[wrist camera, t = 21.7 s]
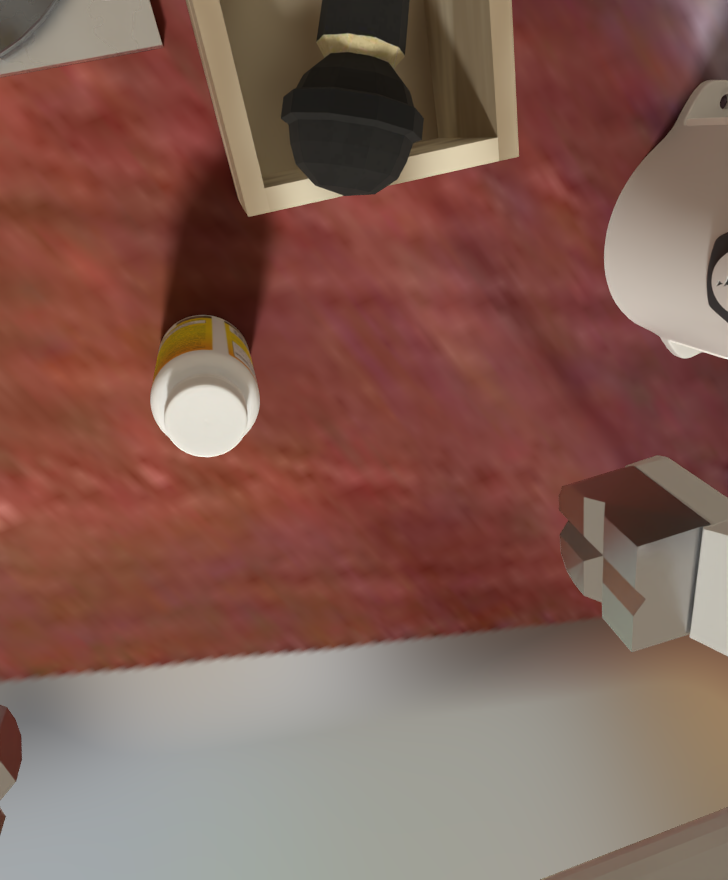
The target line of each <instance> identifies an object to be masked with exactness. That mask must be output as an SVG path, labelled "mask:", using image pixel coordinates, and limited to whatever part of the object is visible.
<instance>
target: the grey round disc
mask: <svg viewBox="0 0 728 880" xmlns="http://www.w3.org/2000/svg"><path fill="white" fill-rule="evenodd" d="M59 1H60V0H0V57H2V56H4V55H5V54H7V53H8V52H10V51H11V50H13V49H14V48H16V47H17V46H18V45H20V44H21V43H23V42H24V41H26V40H27V39H28V38H29V37H30V36H31V35H32V34H33V33H34V32H35V31H36V30H37V29H38V28H39V27H40V26H41V25H42V24H43V23H44V22H45V21H46V19H47V18H48V16H49V15H50V14H51V12H52V11H53V9H54V8H55V7H56V5H57V4H58V2H59Z"/></svg>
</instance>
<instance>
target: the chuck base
mask: <svg viewBox="0 0 728 880" xmlns="http://www.w3.org/2000/svg"><path fill="white" fill-rule="evenodd" d="M158 48H163V44H162V41H161V37H160V34H159V30H158V27H157V24H156V20H155V17H154V13H153V10H152V6H151V3H150V0H60V1H59V2H58V4H57V5H56V7H55V8H54V9H53V11H52V12H51V14H50V15H49V16H48V18H47V19H46V21H45V22H44V23H43V24H42V25H41V26H40V27H39V28H38V29H37V30H36V31H35V32H34V33H33V34H32V35H31V36H30V37H29V38H28V39H27V40H26V41H24V42H23V43H21V44H20V45H18V46H17V47H16V48H14V49H13V50H11V51H10V52H8V53H7V54H5V55H4V56H2V57H0V77H6V76H11V75H17V74H22V73H28V72H33V71H38V70H44V69H49V68H55V67H60V66H66V65H71V64H76V63H82V62H87V61H93V60H98V59H104V58H109V57H114V56H120V55H125V54H131V53H136V52H142V51H147V50H152V49H158Z"/></svg>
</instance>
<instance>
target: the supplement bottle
mask: <svg viewBox="0 0 728 880" xmlns="http://www.w3.org/2000/svg"><path fill="white" fill-rule="evenodd" d="M150 402H151V409H152V413H153V416H154V419H155V421H156V423H157V424H158V426H159V427H160V429H161V430H162V431H163V432H164V433H165V434H166V435H167V436H168V437H169V438H170V439H171V441H172V442H173V443H174V444H175V445H176V446H177V447H178V448H179V449H181V450H182V451H184V452H186V453H188V454H191V455H194V456H199V457H213V456H218V455H221V454H224V453H226V452H228V451H230V450H231V449H233V448H234V447H235V446H236V445H237V444H238V443H239V442H240V441H241V439H242V438H243V436H244V435H245V434H246V433H247V432H248V431H249V430H250V429H251V427H252V426H253V424H254V422H255V420H256V418H257V415H258V411H259V406H260V396H259V389H258V385H257V381H256V377H255V372H254V368H253V364H252V360H251V355H250V351H249V348H248V345H247V343H246V340H245V338H244V337H243V335H242V334H241V333H240V331H239V330H238V329H237V328H236V327H234V326H233V325H232V324H230V323H229V322H227V321H225V320H224V319H221V318H218V317H215V316H210V315H195V316H191V317H187V318H184V319H182V320H180V321H178V322H177V323H176V324H174V325H173V326H172V327H171V328H170V329H169V330H168V331H167V333H166V334H165V335H164V337H163V339H162V341H161V344H160V347H159V352H158V357H157V362H156V367H155V373H154V378H153V383H152V389H151V400H150Z"/></svg>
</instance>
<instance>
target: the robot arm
mask: <svg viewBox="0 0 728 880" xmlns="http://www.w3.org/2000/svg"><path fill="white" fill-rule="evenodd" d="M724 95H726V96H727V104H726V106H725V107H724V108H723V109H722V108H721V107H720V100H721V98H722V97H723V96H724ZM604 266H605V274H606V279H607V284H608V287H609V290H610V292H611V295H612V297H613V299H614V301H615V303H616V304H617V306H618V307H619V308H620V310H621V311H622V312H623V313H624V314H625V315H626V316H627V317H628V318H629V319H630V320H632V321H633V322H635V323H636V324H638V325H640V326H642V327H644V328H646V329H648V330H650V331H652V332H654V333H655V334H657V335H658V336H660V338H661V339H662V341H663V342H664V344H665V345H666V347H667V348H668V349H669V351H670V352H671V353H672V354H673V355H675V356H677V357H680V358H690V357H693V356H695V355H697V354H699V353H701V352H705V353H708V354H712V355H715V356H718V357H722V358H725V359H728V80H707V81H704V82H702V83H701V84H700V85H699V86H698V87H697V88H696V89H695V90H694V91H693V93H692V94H691V96H690V97H689V99H688V101H687V102H686V104H685V106H684V108H683V109H682V111H681V113H680V115H679V117H678V119H677V121H676V123H675V125H674V127H673V128H672V129H671V130H670V132H669V133H668V134H667V135H666V136H665V138H664V139H663V140H662V141H661V142H660V143H659V144H658V145H657V146H656V147H655V148H654V149H653V150H652V151H651V152H650V153H649V154H648V155H647V156H646V157H645V158H644V160H643V161H642V162H641V163H640V165H639V166H638V167H637V168H636V170H635V171H634V173H633V174H632V175H631V177H630V178H629V180H628V182H627V183H626V185H625V187H624V188H623V190H622V192H621V194H620V196H619V198H618V200H617V202H616V205H615V207H614V210H613V212H612V215H611V218H610V222H609V225H608V230H607V234H606V240H605V249H604ZM559 511H560V512H561V513H562V514H563V515H564V516H565V517H566V518H567V519H568V522H567V524H566V525H565V527H564V529H563V530H562V532H561V533H560V546H561V554H562V557H563V560H564V564H565V567H566V570H567V572H568V573H569V575H570V577H571V579H572V580H573V582H574V584H575V585H576V586H577V588H578V589H579V590H580V591H581V592H582V594H583V595H584V596H587V597H589V598H592V599H594V600H597V601H599V602H602V618H603V619H604V620H605V621H606V622H607V623H608V625H609V626H610V627H611V628H612V630H613V631H614V632H615V633H616V634H617V635H618V637H619V638H620V639H621V640H622V641H623V643H624V644H625V645H626V646H627V647H628V648H629V650H630V651H631V652H634V651H637V650H640V649H643V648H647V647H650V646H653V645H656V644H659V643H663V642H666V641H669V640H672V639H676V638H678V637H682V636H685V635H688V634H690V638H692V639H694V640H696V641H698V642H700V643H702V644H704V645H706V646H708V647H710V648H712V649H714V650H716V651H718V652H720V653H722V654H724V655H726V656H728V498H727V497H725V496H724V495H722V494H721V493H719V492H718V491H716V490H715V489H713V488H712V487H711V486H709V485H708V484H706V483H705V482H703V481H702V480H700V479H699V478H697V477H696V476H694V475H693V474H691V473H690V472H688V471H687V470H685V469H684V468H682V467H681V466H680V465H678V464H677V463H675V462H674V461H672V460H671V459H669V458H667V457H663V456H658V455H657V456H654V457H651V458H648V459H645V460H642V461H639V462H636V463H633V464H630V465H627V466H625V467H624V468H620V469H617V470H614V471H610V472H607V473H604V474H601V475H597V476H594V477H591V478H588V479H584V480H581V481H578V482H575V483H571V484H568V485H565V486H562V488H561V491H560V494H559ZM21 751H22V749H21V734H20V731H19V728H18V726H17V723H16V720H15V718H14V717H13V715H12V714H11V712H10V711H9V710H8V708H7V707H5V706H2V705H0V800H1V799H2V798H3V797H4V795H5V794H6V793H7V792H8V791H9V789H10V788H11V787H12V786H13V784H14V783H15V782H16V779H17V776H18V772H19V768H20V764H21V761H22V753H21ZM5 817H6V816H5V814H4V813H3V811H2V809H1V808H0V834H1V831H2V827H3V824H4V821H5ZM540 880H728V807H726V808H724V809H721V810H719V811H716V812H714V813H711V814H709V815H706V816H703V817H701V818H698V819H696V820H693V821H690V822H688V823H685V824H683V825H680V826H677V827H675V828H672V829H670V830H667V831H664V832H662V833H659V834H657V835H654V836H652V837H649V838H646V839H644V840H641V841H639V842H636V843H634V844H631V845H628V846H626V847H623V848H621V849H618V850H615V851H613V852H610V853H608V854H605V855H602V856H600V857H597V858H595V859H592V860H590V861H587V862H584V863H582V864H580V865H577V866H574V867H571V868H569V869H566V870H564V871H561V872H559V873H556V874H553V875H551V876H548V877H546V878H543V879H540Z"/></svg>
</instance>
